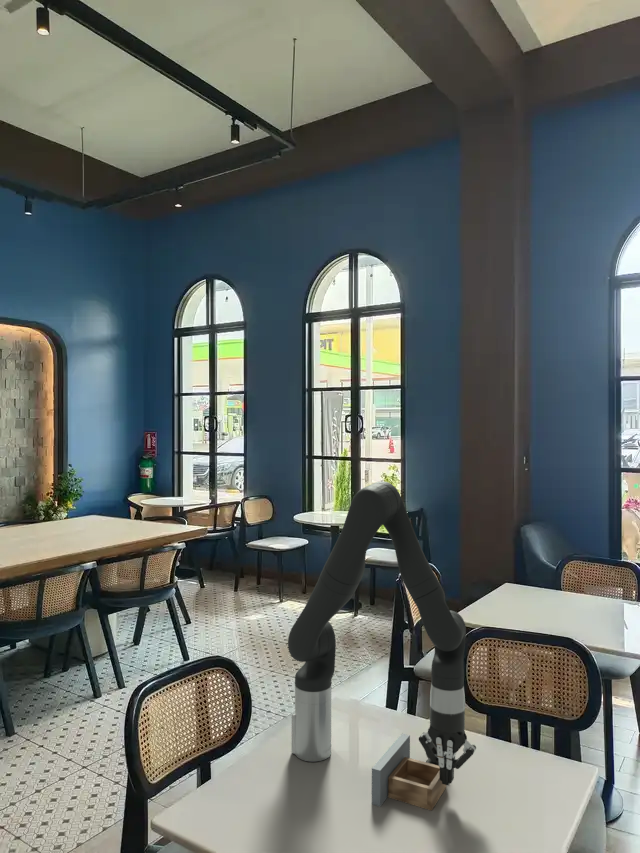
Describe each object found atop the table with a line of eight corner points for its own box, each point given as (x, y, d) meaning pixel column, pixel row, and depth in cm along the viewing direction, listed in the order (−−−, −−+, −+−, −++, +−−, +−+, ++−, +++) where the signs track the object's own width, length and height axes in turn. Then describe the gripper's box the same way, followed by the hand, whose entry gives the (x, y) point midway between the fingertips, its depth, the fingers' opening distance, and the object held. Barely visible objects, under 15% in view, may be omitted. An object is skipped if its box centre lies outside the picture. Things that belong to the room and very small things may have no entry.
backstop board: (371, 804, 140) (371, 768, 140) (402, 766, 156) (402, 733, 156) (380, 807, 139) (380, 770, 139) (409, 768, 155) (409, 735, 155)
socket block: (388, 797, 143) (388, 777, 143) (404, 775, 151) (404, 756, 151) (431, 810, 138) (431, 789, 138) (446, 787, 147) (446, 767, 147)
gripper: (412, 704, 141) (412, 783, 141) (472, 718, 135) (471, 800, 135) (424, 692, 148) (423, 767, 148) (481, 704, 142) (481, 782, 142)
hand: (446, 783), depth 142 cm, fingers closed
